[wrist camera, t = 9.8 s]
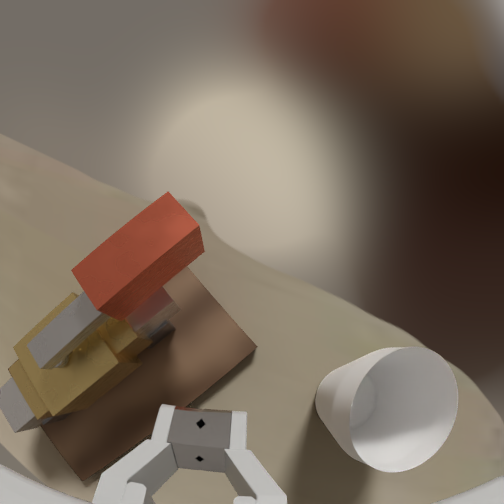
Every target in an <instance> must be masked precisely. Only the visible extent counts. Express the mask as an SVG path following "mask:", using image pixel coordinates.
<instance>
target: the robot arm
mask: <svg viewBox="0 0 504 504" xmlns="http://www.w3.org/2000/svg"><path fill="white" fill-rule="evenodd" d="M246 438H247V412H242V411H228V410H211V409H195V408H187V407H180V406H173V405H166V404H162V405H161V406H160V408H159V412H158V415H157V419H156V422H155V426H154V430H153V433H152V437H151V440H149V439H146V440H145V441H144V442H142V443H141V444H140V445H139V446H137V447H136V448H135V449H133V450H132V451H131V452H130V453H128V454H127V455H126V456H124V457H123V458H122V459H120V460H119V461H118V462H116V463H115V464H114V465H112V466H111V467H110V468H108V469H107V470H106V471H104V472H103V473H102V474H101V477H100V480H99V483H98V486H97V489H96V492H95V495H94V498H93V501H92V503H91V502H88V501H85V500H82V499H79V498H76V497H73V496H70V495H68V494H65V493H63V492H60V491H57V490H55V489H52V488H50V487H48V486H45V485H43V484H41V483H38V482H36V481H34V480H32V479H30V478H28V477H25V476H23V475H21V474H19V473H17V472H15V471H13V470H11V469H9V468H7V467H6V466H4V465H1V464H0V504H155V502H154V501H153V499H152V497H151V496H152V495H153V494H154V493H155V492H156V491H157V490H158V489H159V488H160V487H161V486H162V485H163V484H164V483H165V482H166V481H167V480H168V479H169V478H170V477H171V476H172V475H173V474H174V473H175V472H176V471H177V470H178V468H184V469H194V470H204V471H213V472H223V473H225V474H226V476H227V477H228V479H229V481H230V482H231V484H232V486H233V487H234V489H235V491H236V492H237V494H238V495H239V496H238V497H236V498H235V499H234V504H287V496H286V494H285V493H284V492H283V491H282V490H281V488H280V487H279V486H278V485H277V484H276V482H275V481H274V480H273V479H272V477H271V476H270V475H269V474H268V472H267V471H266V470H265V468H264V467H263V466H262V465H261V463H260V462H259V461H258V459H257V458H256V457H255V455H254V454H253V453H252V451H251V450H246ZM431 504H504V476H500V477H497V478H495V479H493V480H490V481H488V482H486V483H484V484H482V485H479V486H477V487H475V488H472V489H470V490H467V491H465V492H462V493H460V494H457V495H454V496H452V497H449V498H446V499H443V500H440V501H437V502H434V503H431Z"/></svg>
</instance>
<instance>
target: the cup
mask: <svg viewBox="0 0 504 504" xmlns="http://www.w3.org/2000/svg"><path fill="white" fill-rule="evenodd" d="M315 405H316V410H317V413H318V415H319V417H320V419H321V420H322V421H323V423H324V424H325V426H326V427H327V429H328V430H329V431H330V433H331V434H332V436H333V437H334V439H335V440H336V441H337V443H338V444H339V445H340V447H341V448H342V449H343V450H344V451H345V452H346V453H347V454H348V455H349V456H351V457H352V458H353V459H355V460H357V461H359V462H362V463H364V464H367V465H369V466H371V467H373V468H375V469H377V470H380V471H384V472H402V471H406V470H409V469H412V468H414V467H417V466H418V465H420V464H422V463H424V462H425V461H426V460H428V459H429V458H430V457H432V456H433V455H434V454H435V453H436V452H437V451H438V449H439V448H440V447H441V446H442V445H443V443H444V442H445V440H446V439H447V437H448V435H449V433H450V431H451V429H452V427H453V424H454V422H455V418H456V414H457V409H458V387H457V382H456V379H455V376H454V374H453V371H452V369H451V368H450V366H449V365H448V363H447V362H446V361H445V360H444V359H443V358H442V357H441V356H440V355H439V354H437V353H436V352H434V351H432V350H429V349H427V348H423V347H403V348H397V347H392V348H384V349H380V350H377V351H374V352H371V353H369V354H367V355H365V356H363V357H361V358H359V359H357V360H354V361H352V362H350V363H348V364H346V365H344V366H342V367H339V368H337V369H335V370H333V371H332V372H330V373H329V374H328V375H327V376H326V377H325V378H324V379H323V380H322V382H321V383H320V385H319V387H318V389H317V393H316V398H315Z"/></svg>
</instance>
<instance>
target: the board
mask: <svg viewBox="0 0 504 504" xmlns="http://www.w3.org/2000/svg"><path fill="white" fill-rule="evenodd" d="M163 288H164V289H165V290H166V291H167V293H168V294H169V295H170V296H171V298H172V299H173V300H174V301H175V303H176V304H177V305H178V306H179V308H180V309H181V310H180V311H179V312H177V313H176V314H175V315H174V316H173V317H171V318H170V319H169V320H170V322H171V323H172V324H173V325H174V327H175V328H176V329H175V330H173V331H172V332H171V333H170V334H169V335H167V336H166V337H165V338H164V339H162V340H161V341H160V342H159V343H158V344H156V345H155V346H154V347H153V348H151V349H150V348H145V349H144V350H143V351H142V352H140V353H139V354H138V355H137V357H138V358H139V359H140V361H141V362H142V363H143V364H142V365H140V366H139V367H138V368H137V369H135V370H134V371H133V372H132V373H131V374H129V375H128V376H127V377H126V378H124V379H123V380H122V381H121V382H119V383H118V384H117V385H116V386H114V387H113V388H112V389H111V390H109V391H108V392H107V393H106V394H104V395H103V396H102V397H101V398H99V399H98V400H97V401H96V402H94V403H93V404H92V405H91V406H89V407H88V408H87V409H83V410H79V411H75V412H72V413H71V414H70V415H69V416H67V417H66V418H65V419H64V420H62V421H58V422H54V423H50V424H46V425H43V423H42V424H41V427H42V428H43V430H44V431H45V433H46V434H47V436H48V437H49V438H50V440H51V441H52V443H53V444H54V446H55V447H56V448H57V450H58V451H59V452H60V454H61V455H62V456H63V458H64V459H65V460H66V462H67V463H68V464H69V465H70V467H71V468H72V469H73V470H74V472H75V473H76V474H77V475H78V476H79V478H80V479H81V480H82V481H84V480H85V479H87V478H88V477H90V476H91V475H93V474H94V473H96V472H97V471H99V470H100V469H102V468H103V467H105V466H106V465H108V464H109V463H110V462H112V461H113V460H115V459H116V458H118V457H119V456H120V455H122V454H123V453H125V452H126V451H127V450H129V449H130V448H132V447H133V446H134V445H136V444H137V443H139V442H140V441H141V440H143V439H144V438H145V437H147V436H148V435H149V434H151V433H152V432H153V430H154V426H155V422H156V419H157V415H158V412H159V408H160V406H161V405H162V404H166V405H173V406H180V407H186V406H187V405H188V404H190V403H191V402H192V401H193V400H195V399H196V398H197V397H198V396H200V395H201V394H202V393H203V392H205V391H206V390H207V389H208V388H210V387H211V386H212V385H213V384H214V383H216V382H217V381H218V380H219V379H220V378H222V377H223V376H224V375H225V374H226V373H228V372H229V371H230V370H231V369H232V368H234V367H235V366H236V365H237V364H238V363H239V362H241V361H242V360H243V359H244V358H245V357H246V356H247V355H249V354H250V353H251V352H252V351H253V350H254V349H255V348H257V346H256V344H255V343H254V342H253V341H252V340H251V339H250V338H249V337H248V336H247V335H246V333H245V332H244V331H243V330H242V329H241V328H240V327H239V326H238V325H237V323H236V322H235V321H234V320H233V319H232V318H231V317H230V316H229V314H228V313H227V312H226V311H225V310H224V309H223V308H222V306H221V305H220V304H219V303H218V302H217V301H216V300H215V298H214V297H213V296H212V295H211V294H210V293H209V291H208V290H207V289H206V288H205V287H204V286H203V284H202V283H201V282H200V281H199V280H198V279H197V277H196V276H195V275H194V274H193V273H192V271H191V270H190V269H189V268H188V267H187V266H186V267H185V268H184V269H183V270H182V271H180V272H179V273H178V274H177V275H176V276H174V277H173V278H172V279H171V280H170V281H168V282H167V283H166V284H165V285H164V286H163ZM8 370H9V369H8ZM9 372H10V371H9ZM10 374H11V373H10ZM11 376H12V375H11Z"/></svg>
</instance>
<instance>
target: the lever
mask: <svg viewBox="0 0 504 504" xmlns="http://www.w3.org/2000/svg"><path fill="white" fill-rule="evenodd" d="M203 252H205V251H204V246H203V242H202V237H201V232H200V227H199V224H198V223H197V222H196V221H195V220H194V219H193V218H192V217H191V216H190V215H189V214H188V213H187V211H186V210H185V209H184V208H183V207H182V206H181V205H180V204H179V203H178V202H177V201H176V199H175V198H174V197H173V196H172V195H171V194H170V193H169V192H167V193H165V194H164V195H163V196H161V197H160V198H159V199H157V200H156V201H155V202H154V203H152V204H151V205H150V206H148V207H147V208H146V209H144V210H143V211H142V212H141V213H139V214H138V215H137V216H135V217H134V218H133V219H132V220H130V221H129V222H128V223H127V224H125V225H124V226H123V227H122V228H120V229H119V230H118V231H117V232H115V233H114V234H113V235H112V236H111V237H109V238H108V239H107V240H106V241H105V242H103V243H102V244H101V245H100V246H99V247H97V248H96V249H95V250H94V251H93V252H92V253H90V254H89V255H88V256H87V257H86V258H85V259H83V260H82V261H81V262H80V263H79V264H78V265H77V266H76V267H74V268H73V269H72V270H71V271H72V272H73V274H74V276H75V277H76V279H77V280H78V282H79V284H80V285H81V287H82V288H83V290H84V292H83V293H82V294H80V295H79V296H78V297H77V298H76V299H75V300H74V301H73V302H72V303H70V304H69V305H68V306H67V307H66V308H65V309H64V310H63V311H62V312H61V313H60V314H59V315H57V316H56V317H55V318H54V319H53V320H52V321H51V322H50V323H49V324H48V325H47V326H46V327H45V328H44V329H43V330H42V331H41V332H39V333H38V334H37V335H36V336H35V337H34V338H33V339H32V340H31V341H30V342H29V343H28V344H27V347H28V348H29V350H30V352H31V354H32V356H33V357H34V359H35V361H36V363H37V364H38V366H39V368H40V369H51V370H52V369H53V368H62V367H64V366H65V365H66V364H67V362H68V359H69V354H70V353H71V352H72V351H73V350H74V349H75V348H76V347H77V346H78V345H80V344H81V343H82V342H83V341H84V340H85V339H86V338H87V337H89V336H90V335H91V334H92V333H93V332H94V331H95V330H96V329H98V328H99V327H100V326H101V325H102V324H103V323H104V322H106V321H107V320H108V319H109V318H110V317H113V318H115V319H117V320H119V321H122V320H124V319H125V318H126V317H127V316H128V315H129V314H131V313H132V312H133V311H134V310H135V309H136V308H138V307H139V306H140V305H141V304H142V303H143V302H145V301H146V300H147V299H148V298H149V297H151V296H152V295H153V294H154V293H155V292H156V291H158V290H159V289H160V288H161V287H162V286H164V285H165V284H166V283H167V282H168V281H170V280H171V279H172V278H173V277H174V276H176V275H177V274H178V273H179V272H180V271H182V270H183V269H184V268H185V267H186V266H188V265H189V264H190V263H191V262H192V261H194V260H195V259H196V258H197V257H198V256H200V255H201V254H202V253H203Z"/></svg>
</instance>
